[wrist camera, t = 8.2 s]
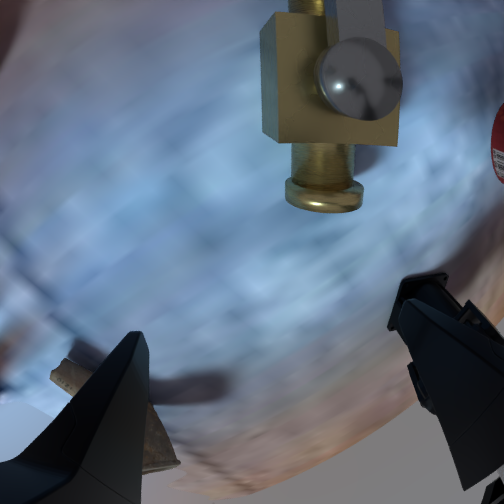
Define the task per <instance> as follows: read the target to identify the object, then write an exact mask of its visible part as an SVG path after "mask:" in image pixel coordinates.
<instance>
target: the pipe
mask: <svg viewBox="0 0 504 504" xmlns="http://www.w3.org/2000/svg"><path fill="white" fill-rule="evenodd" d="M92 374H93V372H91V371H89V370H87V369H86V368H84V367H82V366H80V365H78V364H76V363H74V362H72V361H70V360H68V359H67V358H64V359H63V360H62V361H61V363H60V365H59V366H58V367H57V368H56V369H54V370H52V371H51V374H50V378H49V379H50V380H51V381H53V382H54V383H55V384H56V385H58V386H59V387H60V388H62V389H63V390H65V391H66V392H67V393H68V394H70V395H71V396H73V397H74V395H75V394H76V393H77V392H78V391H79V389H80V388H81V387H82V386H83V385H84V383H85V382H86V381H87V380H88V379H89V377H90V376H91V375H92ZM180 464H181V462H180V461H179V460H177V458H176V455H175V452H174V449H173V447H172V444H171V442H170V439H169V437H168V435H167V433H166V430H165V428H164V426H163V424H162V422H161V420H160V419H159V417H158V415H157V413H156V411H155V410H154V407H153V404H152V403H151V402H149V401H148V409H147V418H146V428H145V439H144V451H143V466H142V475H145V474H148V473H153V472H160V471H164V470H169V469H173V468H175V467H177V466H179V465H180Z"/></svg>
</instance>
